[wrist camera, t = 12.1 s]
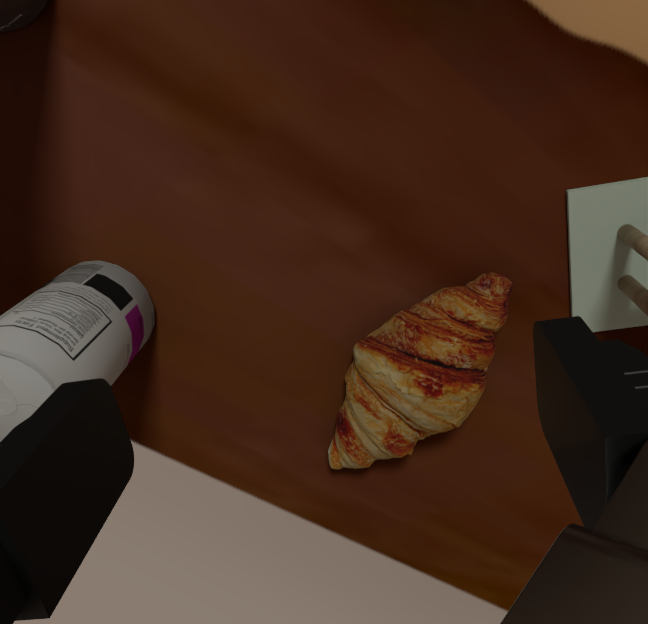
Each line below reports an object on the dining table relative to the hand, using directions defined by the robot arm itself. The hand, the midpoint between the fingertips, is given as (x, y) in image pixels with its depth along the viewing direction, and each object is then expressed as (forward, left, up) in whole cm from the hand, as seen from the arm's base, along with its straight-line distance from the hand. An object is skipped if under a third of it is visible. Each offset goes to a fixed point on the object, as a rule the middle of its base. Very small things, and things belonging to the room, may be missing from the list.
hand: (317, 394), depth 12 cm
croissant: (+18, +1, -34) cm, 39 cm away
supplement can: (+9, -22, -34) cm, 42 cm away
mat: (+11, +19, -34) cm, 40 cm away
